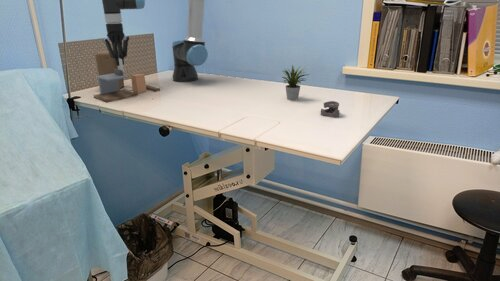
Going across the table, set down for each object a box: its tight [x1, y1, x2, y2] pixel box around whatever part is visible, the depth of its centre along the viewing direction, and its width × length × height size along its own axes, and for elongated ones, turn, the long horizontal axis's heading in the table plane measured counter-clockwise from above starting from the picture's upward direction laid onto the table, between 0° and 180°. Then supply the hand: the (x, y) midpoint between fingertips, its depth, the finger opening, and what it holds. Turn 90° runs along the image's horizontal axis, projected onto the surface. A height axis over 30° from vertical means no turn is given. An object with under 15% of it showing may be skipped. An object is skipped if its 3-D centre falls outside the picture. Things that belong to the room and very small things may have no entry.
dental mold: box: [320, 100, 340, 119], centre depth 149 cm, size 8×7×5 cm
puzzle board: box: [93, 84, 161, 103], centre depth 188 cm, size 30×14×1 cm, turn 136°
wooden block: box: [94, 50, 125, 90], centre depth 197 cm, size 10×10×20 cm
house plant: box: [281, 64, 310, 101], centre depth 169 cm, size 14×14×16 cm
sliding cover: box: [97, 69, 129, 94], centre depth 181 cm, size 10×12×12 cm
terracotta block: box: [130, 73, 147, 94], centre depth 191 cm, size 5×5×9 cm
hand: (121, 71), depth 183 cm, fingers closed
